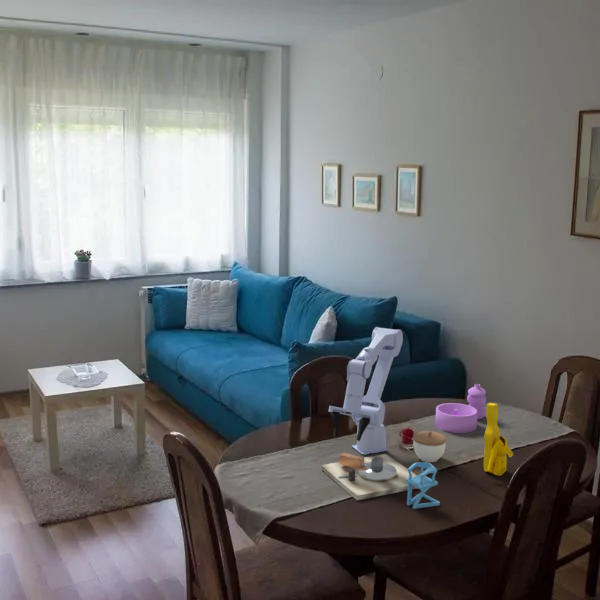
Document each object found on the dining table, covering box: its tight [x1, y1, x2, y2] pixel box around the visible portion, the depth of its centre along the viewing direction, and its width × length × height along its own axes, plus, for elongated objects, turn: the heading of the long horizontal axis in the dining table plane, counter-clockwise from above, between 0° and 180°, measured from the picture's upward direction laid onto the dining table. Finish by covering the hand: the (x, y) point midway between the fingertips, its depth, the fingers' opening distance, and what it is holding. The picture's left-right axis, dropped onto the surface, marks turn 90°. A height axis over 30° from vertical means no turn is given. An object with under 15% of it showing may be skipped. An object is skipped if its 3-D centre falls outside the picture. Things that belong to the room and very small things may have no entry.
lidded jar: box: [412, 430, 447, 463], centre depth 248 cm, size 11×11×9 cm
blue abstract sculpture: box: [406, 461, 441, 510], centre depth 215 cm, size 8×8×12 cm
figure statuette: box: [483, 402, 514, 476], centre depth 237 cm, size 18×8×22 cm, turn 140°
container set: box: [434, 383, 487, 434], centre depth 282 cm, size 25×15×13 cm, turn 135°
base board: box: [320, 453, 418, 501], centre depth 233 cm, size 24×24×4 cm
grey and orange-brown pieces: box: [339, 452, 396, 481], centre depth 233 cm, size 18×12×4 cm, turn 59°
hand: (346, 438), depth 239 cm, fingers open, 7 cm apart
